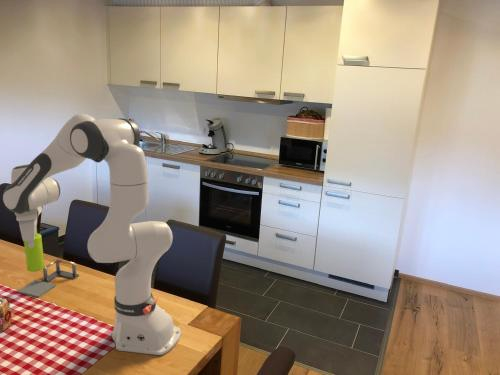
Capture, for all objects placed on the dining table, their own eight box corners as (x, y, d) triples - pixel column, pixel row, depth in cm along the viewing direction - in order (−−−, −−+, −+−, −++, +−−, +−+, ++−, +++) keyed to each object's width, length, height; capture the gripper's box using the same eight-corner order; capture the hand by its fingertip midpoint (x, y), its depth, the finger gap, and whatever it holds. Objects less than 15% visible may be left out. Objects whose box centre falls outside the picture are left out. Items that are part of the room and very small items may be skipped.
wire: (79, 275, 173) (78, 261, 171) (63, 286, 164) (62, 271, 162) (58, 271, 175) (56, 257, 173) (41, 281, 167) (40, 266, 165)
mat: (55, 286, 164) (55, 284, 164) (38, 297, 156) (38, 296, 156) (35, 281, 167) (34, 279, 167) (17, 292, 158) (16, 290, 158)
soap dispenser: (21, 270, 157) (15, 220, 151) (38, 262, 163) (32, 215, 157) (31, 274, 154) (25, 224, 148) (47, 267, 160) (42, 218, 154)
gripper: (20, 199, 159) (24, 233, 163) (15, 218, 141) (20, 255, 145) (39, 198, 162) (42, 231, 166) (36, 216, 144) (40, 253, 148)
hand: (32, 242), depth 155 cm, fingers closed on soap dispenser, 6 cm apart
